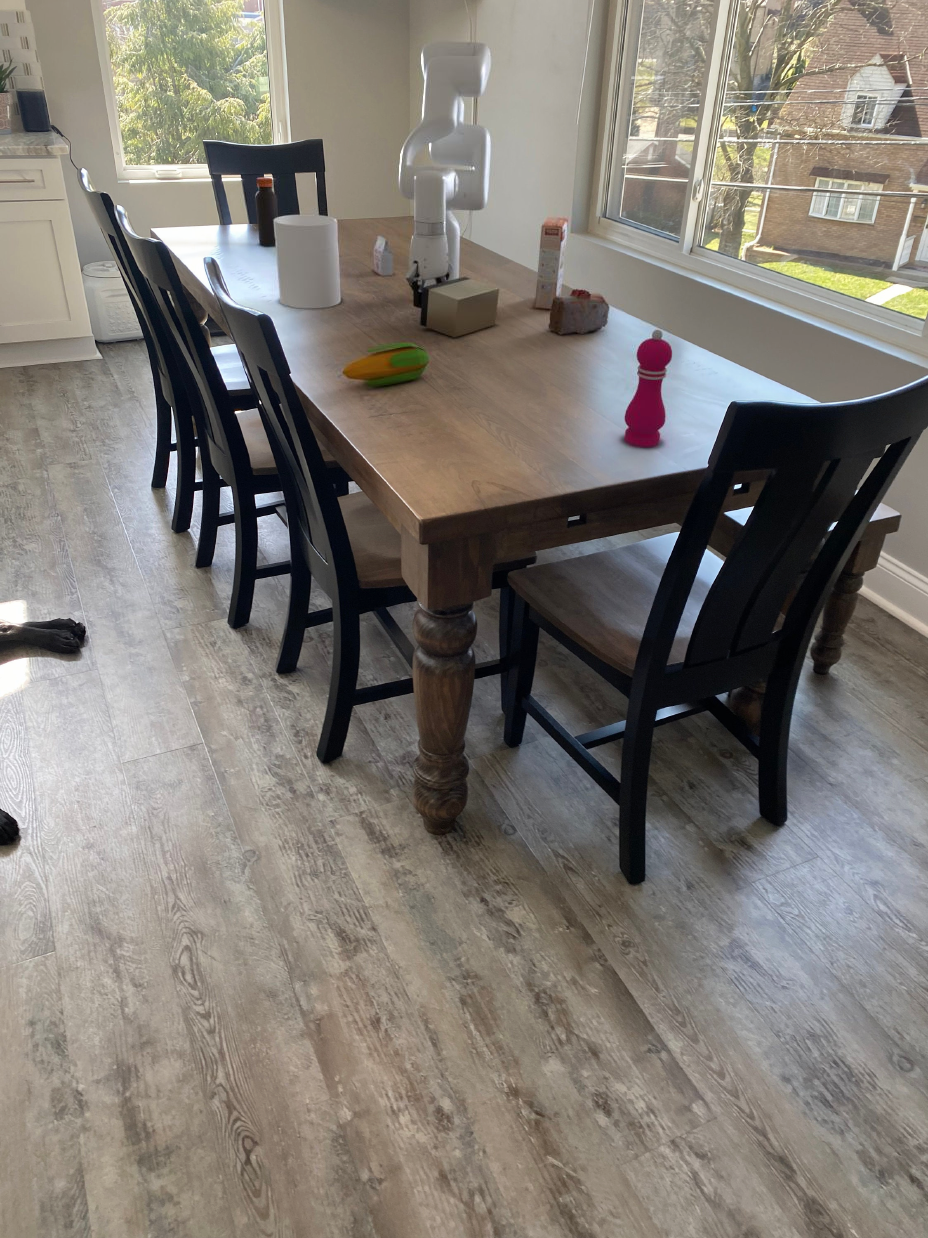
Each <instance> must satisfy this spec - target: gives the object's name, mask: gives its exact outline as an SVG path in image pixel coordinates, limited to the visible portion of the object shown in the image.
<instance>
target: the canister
mask: <svg viewBox="0 0 928 1238" xmlns="http://www.w3.org/2000/svg"><path fill="white" fill-rule="evenodd" d="M338 231H339V230H338V219H337V218H335V217H332V216H329V215H328V216H327V215H321V214H319V215H318V214H289V215H288V214H287V215H282V216H278V217H277V218H275V219H274V232H275V239H276V243H275V244H276V246H275V256H276V267H277V280H278V293H279V302H280V304H281V305H283V306H286V307H289V308H295V309H306V310H307V309H325V308H331V307H333V306H337V305H338V304H340V303H341V299H342V298H341V281H340V280H341V278H340V258H339V257H340V256H339V241H338V240H339V239H338V238H339V235H338V234H339V232H338Z"/></svg>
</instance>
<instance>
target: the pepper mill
mask: <svg viewBox="0 0 928 1238" xmlns="http://www.w3.org/2000/svg"><path fill="white" fill-rule="evenodd" d="M663 336H664V335H663V331H662V330H660V329H655V330H653V331H652V333H651V337H650V338H647V339H645V340H643V341H642V342H641V343H640V344H639V346H638V348H637V351H636V360H637V362H638V364H639V365H638V366H637V371H636V375H637V376H638V384H637V387H636V391H635V393H634V395H633V397H632V399H631V400H630V402H629V403H628V406H627V408H626V410H625V413H624V423H625V424H626V426H627V427H626V429H625V432H624V441H625V443H626V444H628V445H629V446H633V447H637V448H653V447H655V446H658V445H659V443H660V438H661V432H660V430H661V429H662V428H663V427H664V425H665V423H666V417H667V415H666V409H665V408H666V407H665V404H664V400H663V396H662V395H663V394H662V385H663V381H664V379H665V378H666V377H667V371H668V368H667V366H668V365H669V364H670V363H671V361H672V358H673V349H672V346H671V345H670V343H669V342H668V341H666V340H665V339H663Z"/></svg>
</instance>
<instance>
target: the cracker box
mask: <svg viewBox="0 0 928 1238" xmlns="http://www.w3.org/2000/svg"><path fill="white" fill-rule="evenodd" d="M568 226H569V218H566V217H555V216H548V217H546V219H545V221H544V222H543V223H542V224H541V227H540V239H539V240H540V242H539V252H538V261H537V262H538V263H537V275H536V284H535V285H536V287H535V298H534V308H535V309H541V310H542V309H543V310H550V311H551V306H552V301H553V298H554V297H556V296H562V294H561V293H562V284H563V277H564V275H563V274H564V266H565V255H566V246H567V237H568V236H567V235H568Z"/></svg>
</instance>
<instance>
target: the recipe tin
mask: <svg viewBox="0 0 928 1238" xmlns="http://www.w3.org/2000/svg"><path fill="white" fill-rule="evenodd" d="M499 295H500V288H499V287H497V286H494V285H491V284H487V283H484V282H482V281H479V280H476V279H472V278H471V277H467V276H463V277H459V278H458V279H454V280H450V281H446V282H442V283H438V284H434V285H430V286H426V287H423V291H422V306H421V308H420V323H419V325H420V326H422V327H426V328H428V329H431V330H433V331H436V332H438V333H441V334H443V335H447V336H449V337H452V338H457V337H461V336H463V335H467V334H470V333H473V332H477V331H481V330H484V329H486V328H489V327H492V326H495V325H496V320H497V311H498V303H499Z"/></svg>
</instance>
